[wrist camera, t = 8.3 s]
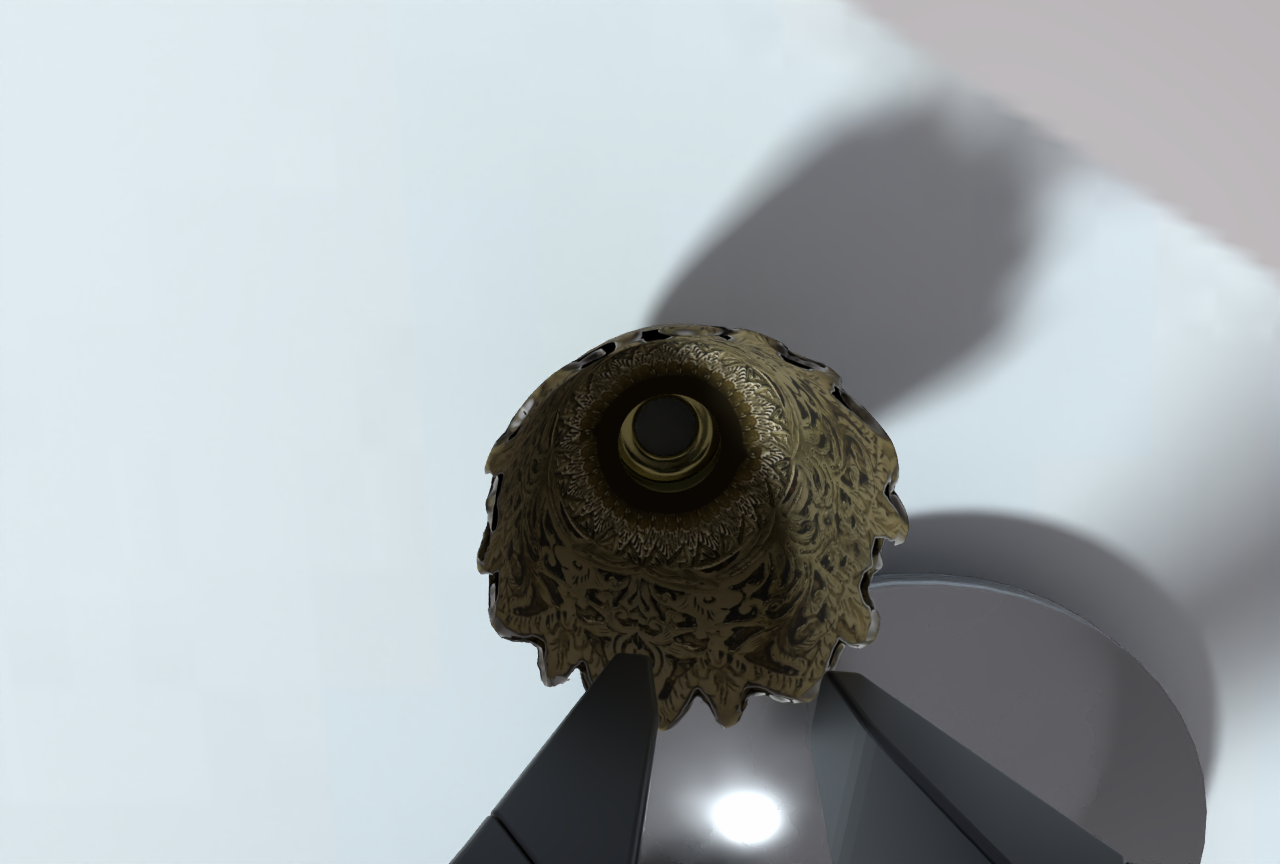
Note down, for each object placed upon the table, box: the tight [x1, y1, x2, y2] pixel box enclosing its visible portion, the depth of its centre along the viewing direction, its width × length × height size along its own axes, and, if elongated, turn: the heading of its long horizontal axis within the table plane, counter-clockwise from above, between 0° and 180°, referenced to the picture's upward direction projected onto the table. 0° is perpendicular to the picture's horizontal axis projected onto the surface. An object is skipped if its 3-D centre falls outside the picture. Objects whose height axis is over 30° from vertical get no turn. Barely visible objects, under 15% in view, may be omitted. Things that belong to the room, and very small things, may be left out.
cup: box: [477, 324, 909, 731], centre depth 17 cm, size 7×7×8 cm
